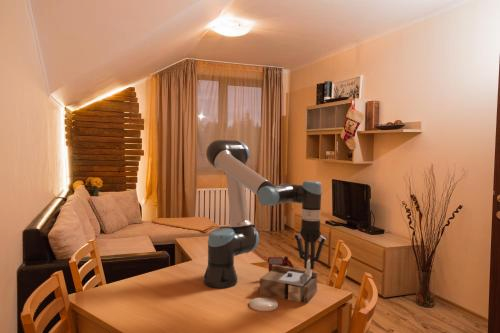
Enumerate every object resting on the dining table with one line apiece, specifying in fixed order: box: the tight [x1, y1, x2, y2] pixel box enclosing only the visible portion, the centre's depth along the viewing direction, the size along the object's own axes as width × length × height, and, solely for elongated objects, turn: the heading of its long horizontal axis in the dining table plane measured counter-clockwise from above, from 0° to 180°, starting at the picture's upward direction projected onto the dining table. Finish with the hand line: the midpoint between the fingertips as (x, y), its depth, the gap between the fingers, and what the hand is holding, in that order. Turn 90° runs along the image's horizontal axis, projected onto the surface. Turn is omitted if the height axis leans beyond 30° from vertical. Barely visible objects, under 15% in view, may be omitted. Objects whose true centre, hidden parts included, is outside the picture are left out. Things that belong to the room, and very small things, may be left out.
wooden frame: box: [259, 265, 319, 304], centre depth 154 cm, size 20×14×8 cm
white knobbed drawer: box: [279, 271, 312, 286], centre depth 152 cm, size 10×12×4 cm
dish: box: [249, 297, 279, 312], centre depth 142 cm, size 11×11×1 cm
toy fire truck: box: [267, 255, 295, 272], centre depth 171 cm, size 7×12×10 cm, turn 98°
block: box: [287, 284, 304, 303], centre depth 148 cm, size 5×5×6 cm
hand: (308, 276), depth 150 cm, fingers closed
